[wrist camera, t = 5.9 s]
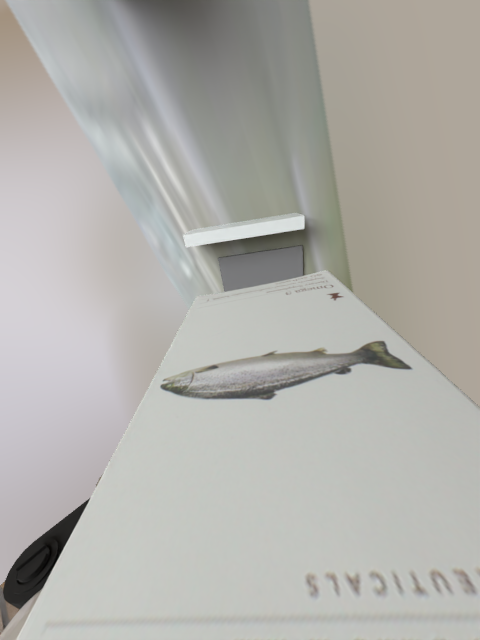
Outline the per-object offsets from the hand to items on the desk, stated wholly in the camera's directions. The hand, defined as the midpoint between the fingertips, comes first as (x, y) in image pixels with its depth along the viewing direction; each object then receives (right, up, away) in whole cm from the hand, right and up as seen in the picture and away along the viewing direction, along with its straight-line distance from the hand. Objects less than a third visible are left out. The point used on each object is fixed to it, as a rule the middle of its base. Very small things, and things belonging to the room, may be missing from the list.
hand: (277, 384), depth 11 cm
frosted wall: (-1, +14, +16) cm, 21 cm away
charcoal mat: (+2, +6, +20) cm, 21 cm away
